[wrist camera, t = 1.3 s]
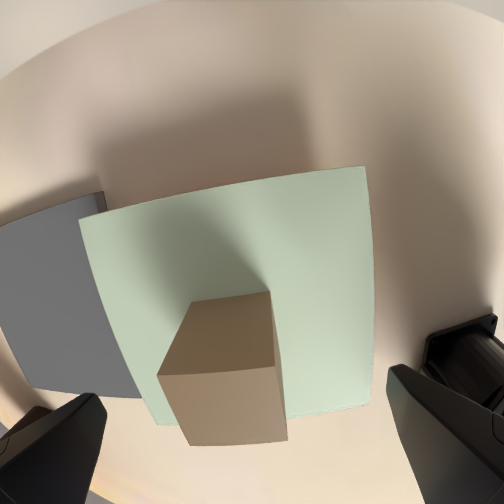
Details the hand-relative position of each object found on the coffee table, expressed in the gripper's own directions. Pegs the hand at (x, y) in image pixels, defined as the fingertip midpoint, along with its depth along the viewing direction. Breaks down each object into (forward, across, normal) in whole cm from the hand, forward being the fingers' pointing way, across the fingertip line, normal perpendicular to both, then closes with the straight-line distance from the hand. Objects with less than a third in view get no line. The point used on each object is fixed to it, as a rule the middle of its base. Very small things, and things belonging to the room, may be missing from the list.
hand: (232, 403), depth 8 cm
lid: (+5, 0, 0) cm, 5 cm away
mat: (+8, +13, 0) cm, 16 cm away
